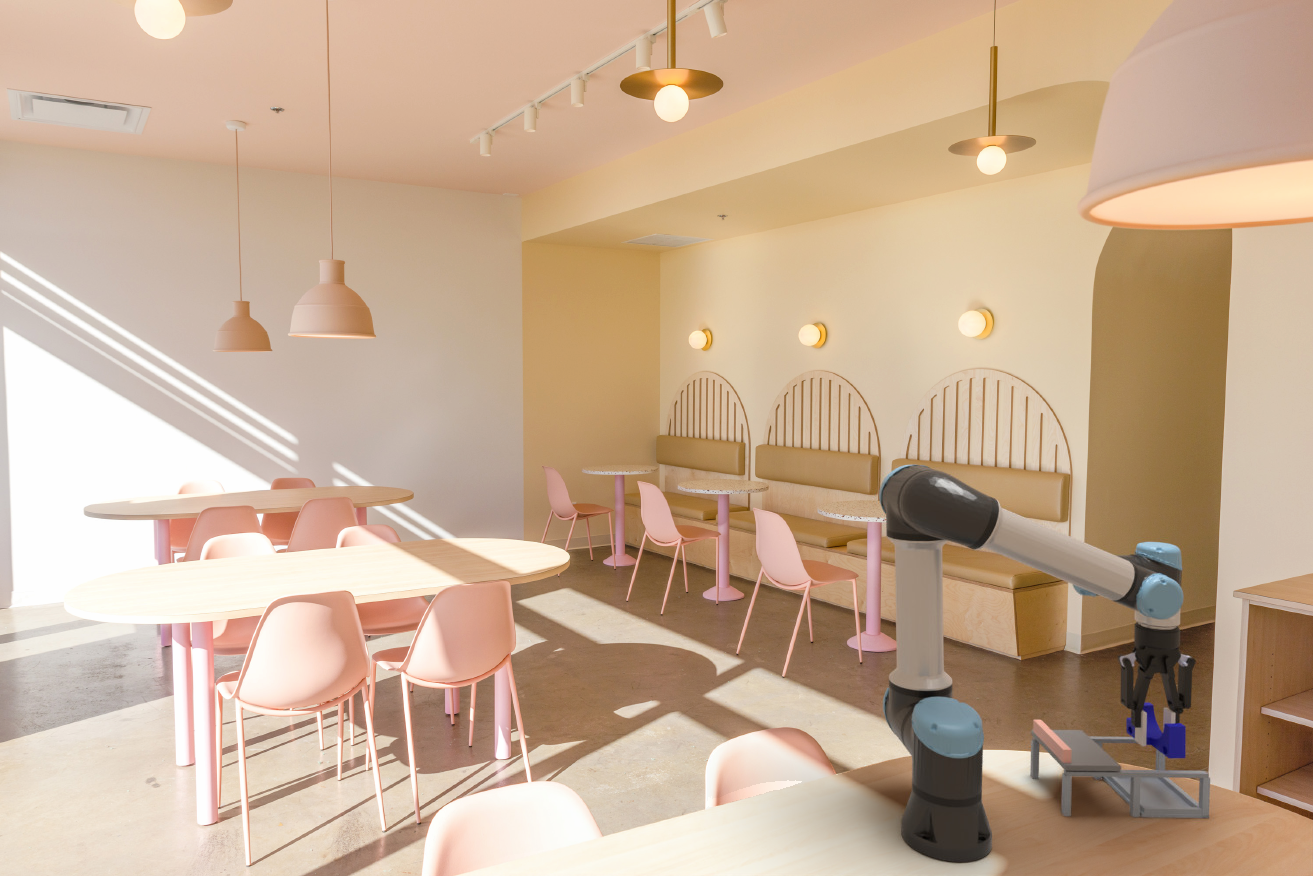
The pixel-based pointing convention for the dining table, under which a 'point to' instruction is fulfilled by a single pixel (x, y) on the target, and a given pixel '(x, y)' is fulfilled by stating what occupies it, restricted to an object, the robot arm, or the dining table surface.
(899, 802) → the dining table surface
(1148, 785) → the grey frame rack
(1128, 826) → the dining table surface
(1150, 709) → the blue bracket
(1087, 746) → the lid
